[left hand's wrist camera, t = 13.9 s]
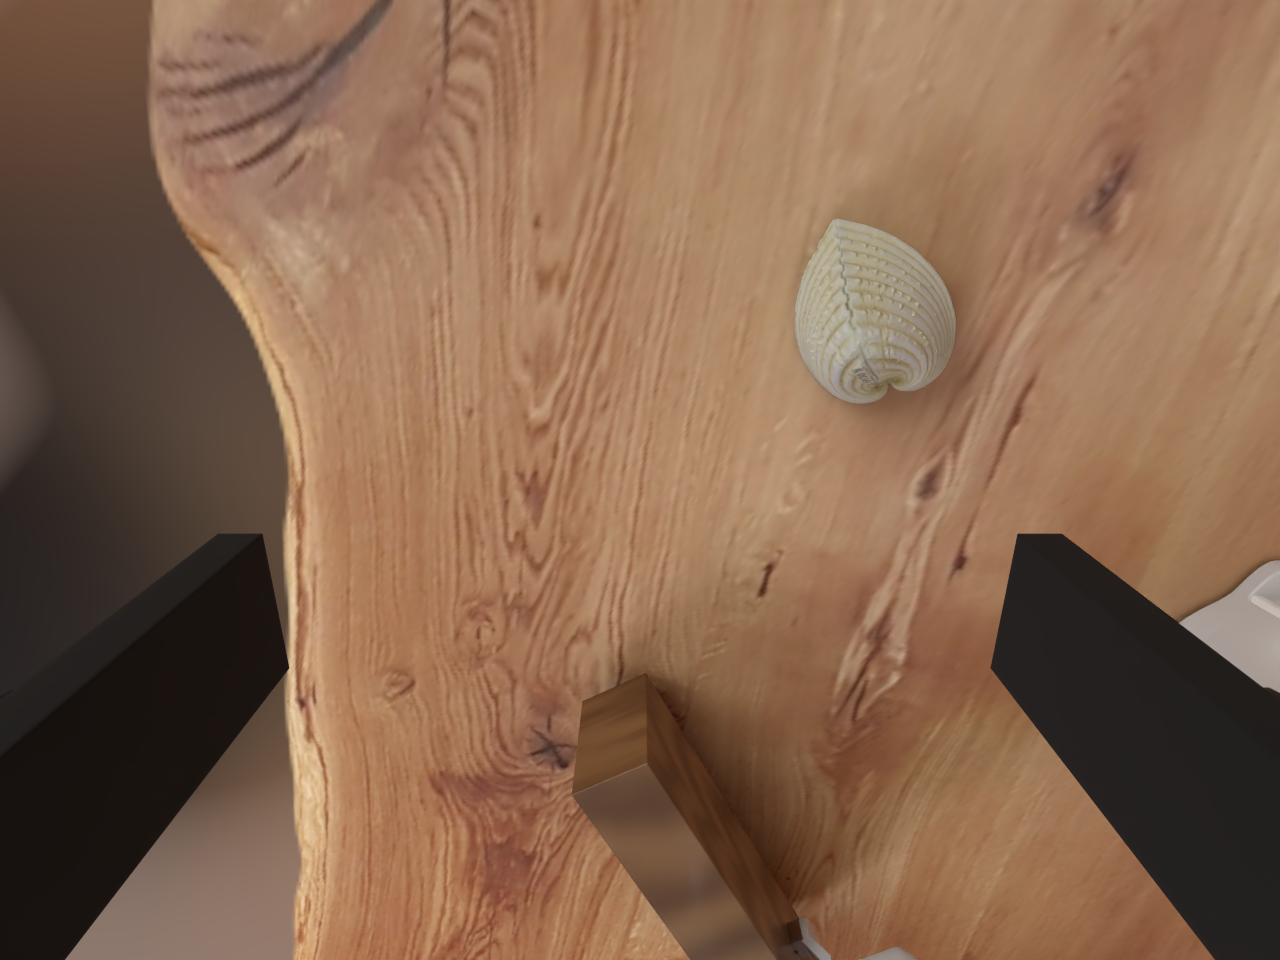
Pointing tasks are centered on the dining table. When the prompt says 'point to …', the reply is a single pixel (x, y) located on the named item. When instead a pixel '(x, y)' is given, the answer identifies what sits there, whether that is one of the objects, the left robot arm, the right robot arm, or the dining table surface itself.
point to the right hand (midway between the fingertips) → (760, 938)
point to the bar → (676, 829)
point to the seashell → (872, 315)
